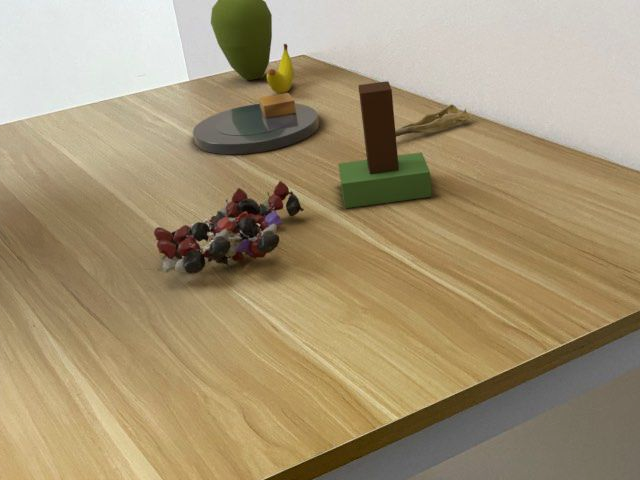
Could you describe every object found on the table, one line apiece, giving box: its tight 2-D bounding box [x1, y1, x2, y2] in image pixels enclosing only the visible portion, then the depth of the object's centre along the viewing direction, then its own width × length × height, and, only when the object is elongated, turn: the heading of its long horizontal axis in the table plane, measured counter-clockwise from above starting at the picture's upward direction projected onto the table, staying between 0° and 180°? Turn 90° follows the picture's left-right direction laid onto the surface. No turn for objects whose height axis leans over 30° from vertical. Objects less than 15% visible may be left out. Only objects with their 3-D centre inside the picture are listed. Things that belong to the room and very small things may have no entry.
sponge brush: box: [337, 80, 433, 209], centre depth 81 cm, size 9×6×10 cm, turn 97°
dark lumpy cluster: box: [153, 180, 304, 275], centre depth 76 cm, size 15×14×5 cm
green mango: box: [210, 0, 273, 81], centre depth 118 cm, size 9×8×12 cm
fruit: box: [266, 43, 294, 94], centre depth 114 cm, size 10×2×5 cm, turn 174°
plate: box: [192, 102, 320, 155], centre depth 103 cm, size 16×16×1 cm
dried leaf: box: [395, 104, 470, 138], centre depth 97 cm, size 4×13×2 cm, turn 125°
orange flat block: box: [258, 92, 296, 118], centre depth 104 cm, size 4×4×2 cm
